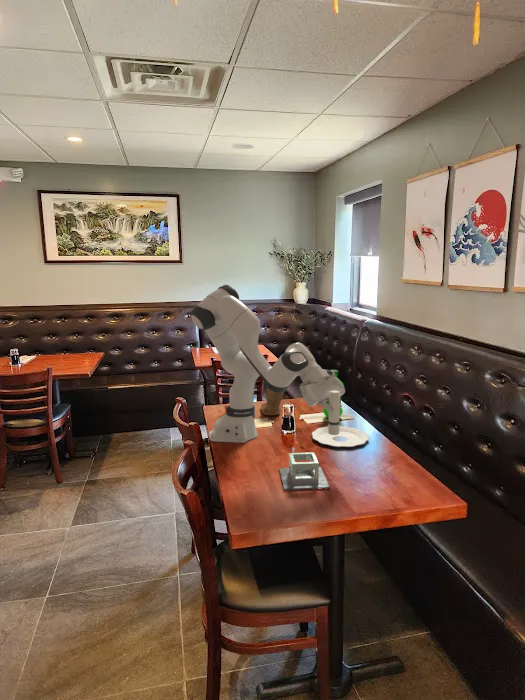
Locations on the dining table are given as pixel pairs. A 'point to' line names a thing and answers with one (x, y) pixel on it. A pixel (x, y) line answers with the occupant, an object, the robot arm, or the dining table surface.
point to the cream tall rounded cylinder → (334, 412)
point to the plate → (352, 435)
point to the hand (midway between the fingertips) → (335, 409)
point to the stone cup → (272, 403)
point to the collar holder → (303, 473)
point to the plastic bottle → (328, 401)
